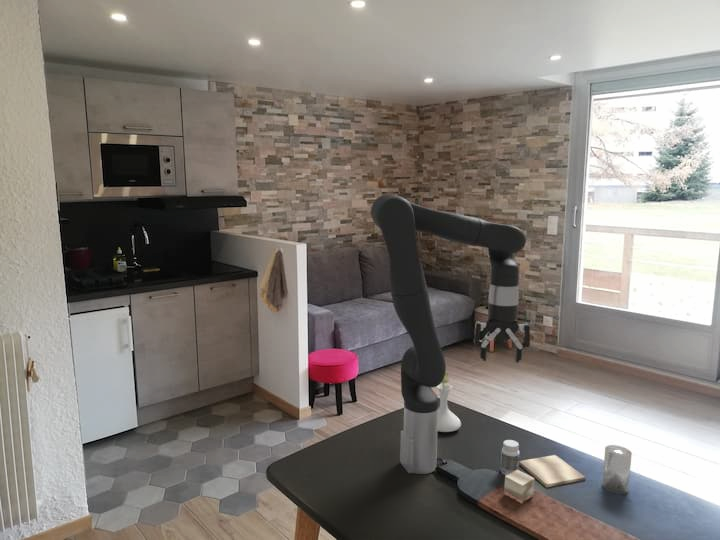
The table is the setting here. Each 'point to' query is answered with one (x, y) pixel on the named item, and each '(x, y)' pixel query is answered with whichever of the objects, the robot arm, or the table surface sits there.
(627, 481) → the tin can
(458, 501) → the table surface
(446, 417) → the flower in vase
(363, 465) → the table surface
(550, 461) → the oak mat
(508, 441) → the pill bottle
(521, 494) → the ash block
